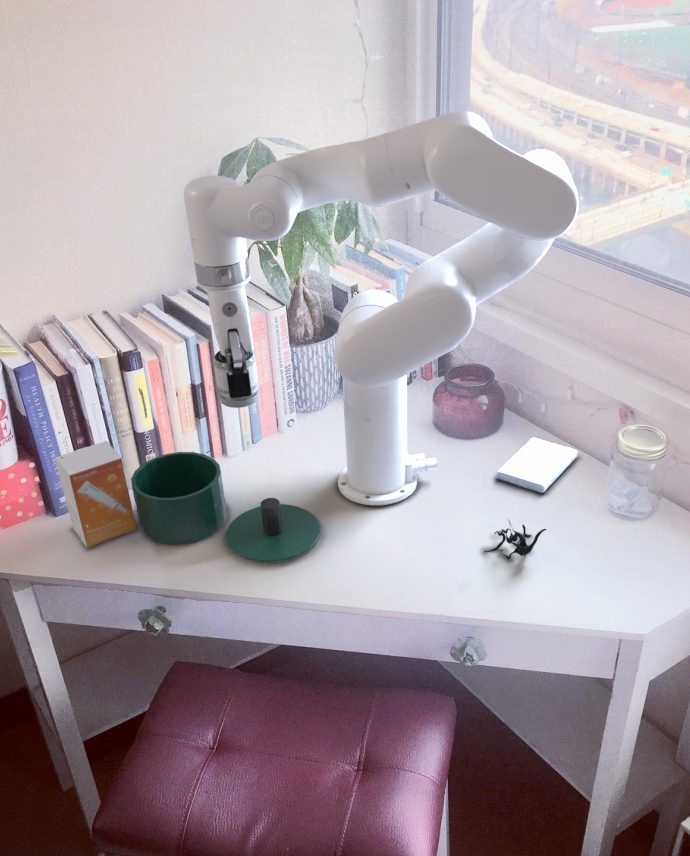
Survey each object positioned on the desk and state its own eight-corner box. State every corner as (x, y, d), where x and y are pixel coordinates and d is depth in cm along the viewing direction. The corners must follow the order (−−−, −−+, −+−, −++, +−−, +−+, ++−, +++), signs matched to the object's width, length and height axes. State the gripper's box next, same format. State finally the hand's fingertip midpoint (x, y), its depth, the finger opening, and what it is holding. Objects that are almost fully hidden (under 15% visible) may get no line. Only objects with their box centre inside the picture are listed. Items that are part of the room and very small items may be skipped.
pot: (221, 488, 146) (215, 446, 141) (231, 535, 135) (225, 491, 131) (139, 502, 144) (129, 459, 139) (142, 550, 133) (133, 506, 129)
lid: (310, 503, 142) (308, 470, 138) (329, 556, 130) (327, 521, 127) (221, 518, 139) (216, 485, 136) (233, 573, 128) (228, 539, 125)
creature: (474, 552, 131) (507, 571, 125) (471, 518, 129) (504, 536, 122) (519, 535, 134) (553, 553, 127) (516, 502, 132) (551, 519, 125)
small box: (87, 549, 134) (67, 475, 127) (72, 529, 139) (53, 456, 131) (138, 530, 138) (122, 457, 130) (122, 510, 142) (106, 439, 135)
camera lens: (223, 412, 135) (216, 364, 131) (215, 394, 140) (208, 347, 136) (264, 404, 136) (259, 356, 132) (254, 386, 141) (249, 340, 137)
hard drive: (496, 479, 145) (531, 444, 153) (543, 494, 141) (577, 458, 149) (496, 470, 144) (532, 436, 152) (544, 485, 140) (578, 449, 148)
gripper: (257, 289, 120) (270, 408, 130) (241, 247, 134) (254, 358, 144) (200, 296, 119) (219, 416, 129) (190, 254, 133) (207, 365, 143)
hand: (237, 384), depth 137 cm, fingers closed on camera lens, 6 cm apart
